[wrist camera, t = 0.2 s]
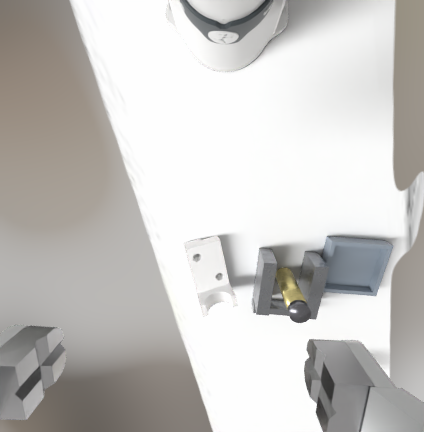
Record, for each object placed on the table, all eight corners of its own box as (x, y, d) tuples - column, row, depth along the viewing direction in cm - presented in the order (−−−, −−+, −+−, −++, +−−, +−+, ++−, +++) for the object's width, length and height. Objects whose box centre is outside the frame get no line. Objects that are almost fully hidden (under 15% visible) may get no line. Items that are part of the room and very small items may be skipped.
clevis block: (259, 247, 49) (264, 262, 44) (317, 252, 49) (329, 267, 43) (251, 303, 54) (255, 323, 48) (304, 307, 54) (313, 328, 48)
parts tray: (326, 236, 48) (332, 241, 45) (384, 240, 47) (393, 245, 45) (315, 284, 51) (319, 291, 49) (369, 288, 51) (376, 296, 49)
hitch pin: (276, 266, 51) (291, 304, 39) (293, 268, 50) (313, 306, 39) (274, 281, 52) (287, 321, 40) (290, 282, 52) (309, 323, 40)
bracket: (227, 284, 54) (237, 305, 47) (197, 294, 53) (203, 316, 46) (216, 234, 50) (225, 248, 43) (183, 243, 49) (187, 258, 42)
